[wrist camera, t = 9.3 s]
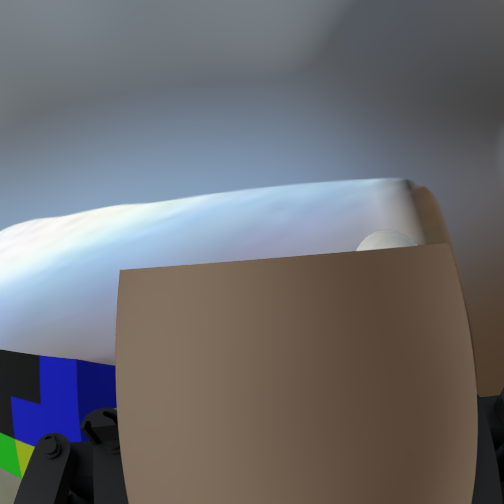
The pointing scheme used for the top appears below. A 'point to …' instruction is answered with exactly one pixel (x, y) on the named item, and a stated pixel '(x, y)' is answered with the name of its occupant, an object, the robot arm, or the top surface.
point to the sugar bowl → (385, 240)
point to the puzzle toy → (47, 401)
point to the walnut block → (297, 381)
